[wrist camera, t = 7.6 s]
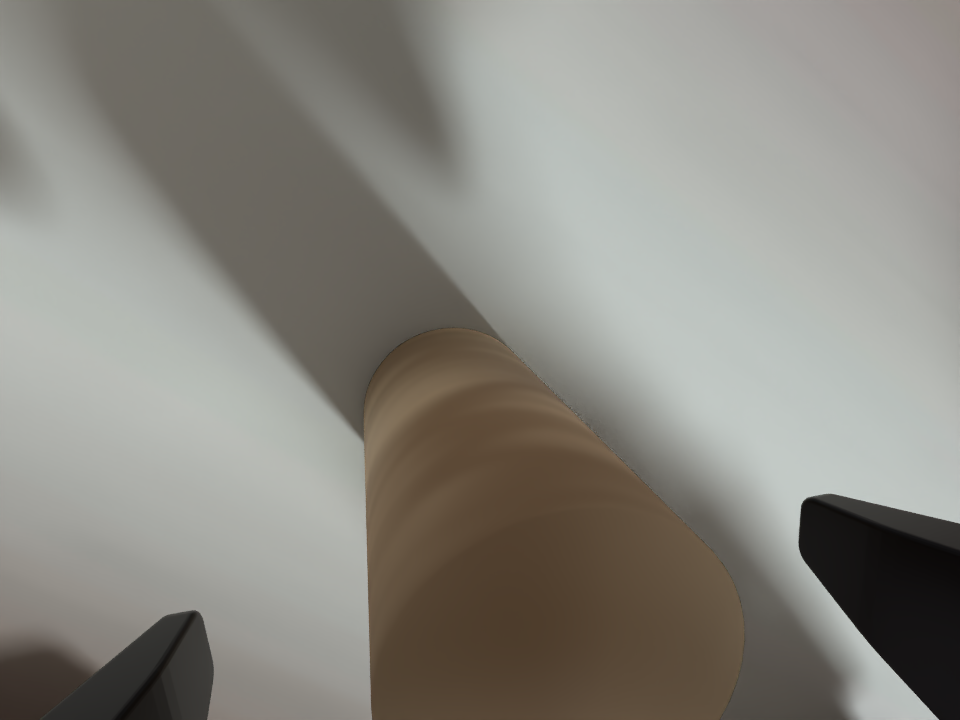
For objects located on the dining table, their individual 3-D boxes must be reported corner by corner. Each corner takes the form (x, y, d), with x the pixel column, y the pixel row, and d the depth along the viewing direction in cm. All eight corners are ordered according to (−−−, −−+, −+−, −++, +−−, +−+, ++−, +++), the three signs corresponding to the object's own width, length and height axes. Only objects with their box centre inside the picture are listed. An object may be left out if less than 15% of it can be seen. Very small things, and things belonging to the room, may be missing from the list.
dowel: (528, 317, 15) (752, 474, 6) (538, 475, 16) (738, 781, 8) (351, 340, 14) (342, 551, 6) (376, 503, 16) (398, 875, 7)
